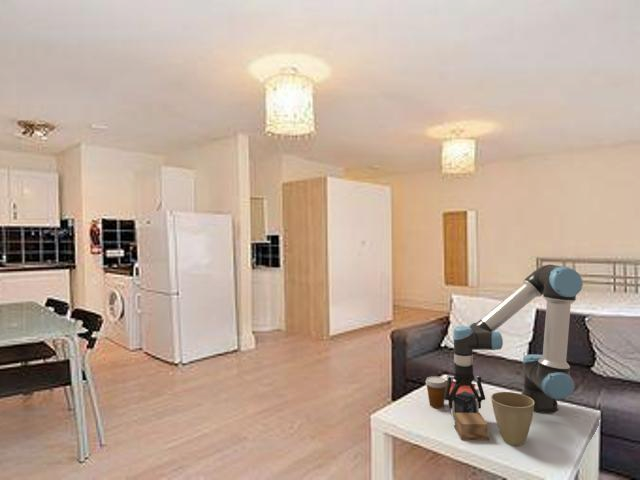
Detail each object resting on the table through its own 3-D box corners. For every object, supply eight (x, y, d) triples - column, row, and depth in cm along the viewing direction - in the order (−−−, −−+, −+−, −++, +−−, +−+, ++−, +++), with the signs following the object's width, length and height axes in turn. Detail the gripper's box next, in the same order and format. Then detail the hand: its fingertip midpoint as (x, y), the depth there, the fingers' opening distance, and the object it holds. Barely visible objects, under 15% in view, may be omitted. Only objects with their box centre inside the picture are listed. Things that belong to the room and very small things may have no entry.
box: (465, 424, 167) (464, 399, 167) (453, 419, 172) (452, 395, 171) (476, 419, 171) (475, 394, 171) (465, 414, 176) (464, 390, 176)
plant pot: (545, 446, 148) (543, 403, 148) (512, 454, 144) (510, 410, 144) (514, 428, 162) (513, 389, 162) (483, 434, 158) (482, 394, 158)
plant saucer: (475, 389, 204) (475, 383, 204) (473, 404, 187) (473, 396, 187) (439, 385, 211) (438, 379, 211) (434, 398, 195) (433, 392, 195)
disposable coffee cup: (424, 408, 183) (424, 382, 183) (427, 400, 192) (426, 375, 192) (446, 411, 180) (445, 384, 180) (448, 402, 189) (447, 377, 189)
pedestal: (480, 426, 164) (480, 412, 164) (489, 440, 154) (488, 424, 154) (454, 426, 165) (453, 412, 165) (461, 440, 155) (460, 424, 155)
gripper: (487, 360, 174) (488, 411, 174) (435, 360, 176) (436, 411, 176) (493, 366, 166) (494, 419, 167) (439, 366, 168) (440, 419, 169)
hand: (465, 415), depth 171 cm, fingers closed on box, 9 cm apart
